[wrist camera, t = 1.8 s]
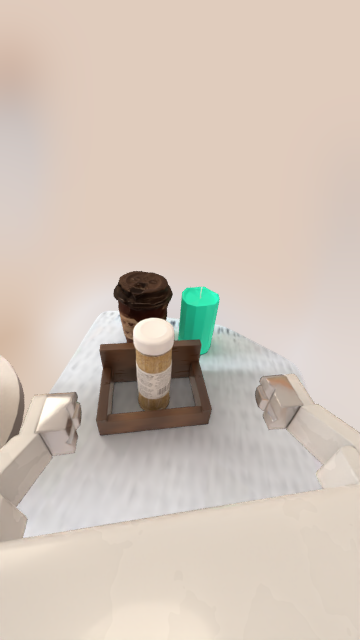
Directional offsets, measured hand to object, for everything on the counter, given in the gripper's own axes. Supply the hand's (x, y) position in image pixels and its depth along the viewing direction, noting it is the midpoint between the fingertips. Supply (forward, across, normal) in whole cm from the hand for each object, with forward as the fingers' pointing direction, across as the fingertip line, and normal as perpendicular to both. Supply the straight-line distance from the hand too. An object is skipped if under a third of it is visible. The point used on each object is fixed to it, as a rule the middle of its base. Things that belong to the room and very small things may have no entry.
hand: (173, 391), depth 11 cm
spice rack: (+14, 0, +22) cm, 26 cm away
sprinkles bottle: (+14, 0, +22) cm, 26 cm away
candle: (+25, -8, +22) cm, 34 cm away
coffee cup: (+26, +1, +22) cm, 34 cm away
